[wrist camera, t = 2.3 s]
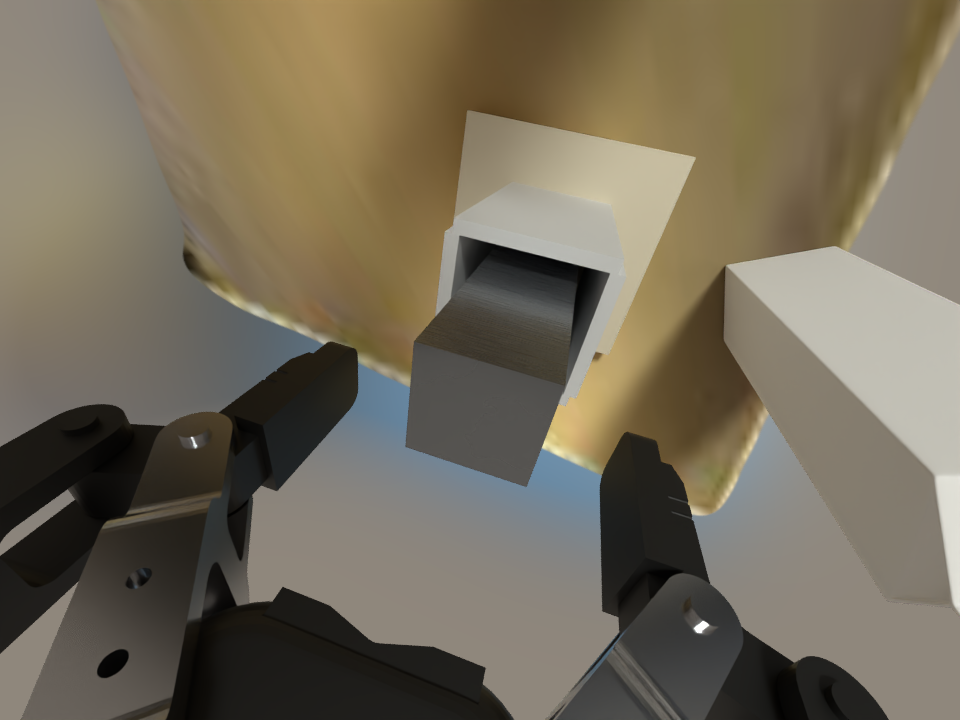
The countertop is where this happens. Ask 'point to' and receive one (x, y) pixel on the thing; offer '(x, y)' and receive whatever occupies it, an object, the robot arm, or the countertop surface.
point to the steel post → (494, 365)
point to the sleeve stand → (563, 217)
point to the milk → (862, 404)
